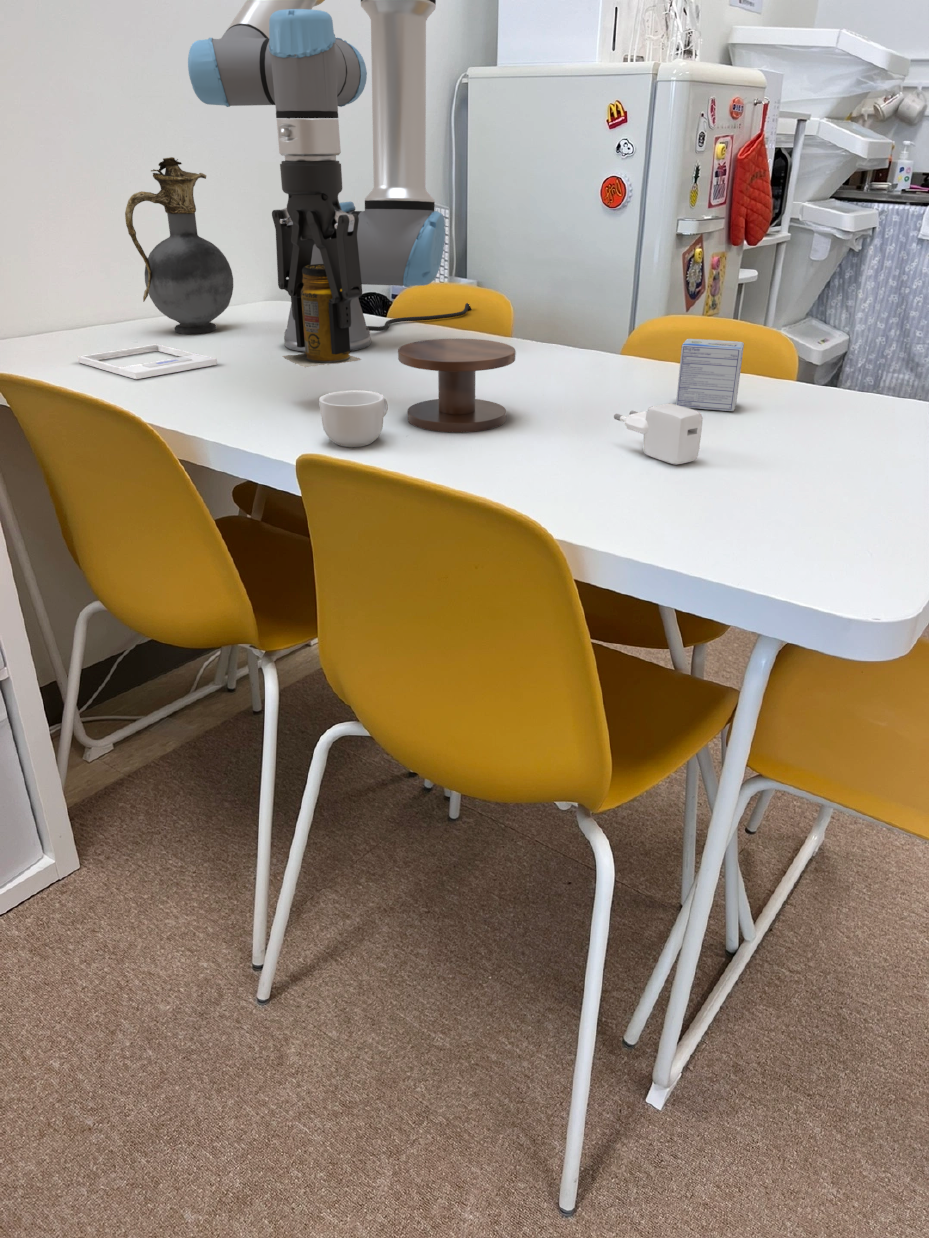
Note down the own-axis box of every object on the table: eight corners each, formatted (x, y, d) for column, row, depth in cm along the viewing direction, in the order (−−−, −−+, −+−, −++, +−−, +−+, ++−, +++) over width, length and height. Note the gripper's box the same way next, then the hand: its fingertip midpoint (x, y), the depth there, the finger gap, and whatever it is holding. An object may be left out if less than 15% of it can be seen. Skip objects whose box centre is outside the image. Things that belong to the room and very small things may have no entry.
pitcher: (246, 328, 182) (229, 157, 169) (160, 342, 169) (134, 158, 156) (213, 322, 189) (194, 156, 175) (128, 335, 176) (100, 157, 162)
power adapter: (605, 445, 113) (609, 396, 110) (634, 438, 116) (638, 391, 113) (673, 468, 105) (679, 417, 102) (703, 461, 107) (709, 410, 105)
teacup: (354, 455, 109) (351, 409, 107) (308, 443, 113) (305, 399, 111) (410, 436, 116) (409, 393, 114) (365, 426, 120) (363, 384, 118)
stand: (449, 399, 133) (449, 334, 129) (536, 417, 125) (538, 348, 120) (376, 421, 123) (373, 350, 118) (465, 441, 114) (465, 367, 110)
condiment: (362, 360, 127) (357, 267, 121) (305, 369, 123) (297, 272, 117) (337, 351, 132) (331, 261, 127) (282, 358, 128) (273, 265, 122)
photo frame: (134, 372, 142) (77, 355, 153) (136, 379, 143) (78, 362, 154) (216, 357, 152) (156, 343, 163) (217, 364, 152) (157, 349, 163)
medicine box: (736, 405, 130) (745, 341, 127) (733, 413, 127) (742, 347, 123) (679, 400, 133) (685, 337, 129) (674, 408, 129) (681, 343, 125)
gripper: (236, 158, 118) (255, 344, 129) (342, 161, 108) (353, 364, 119) (281, 156, 124) (296, 336, 134) (387, 159, 113) (394, 354, 124)
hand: (323, 348), depth 127 cm, fingers closed on condiment, 6 cm apart
